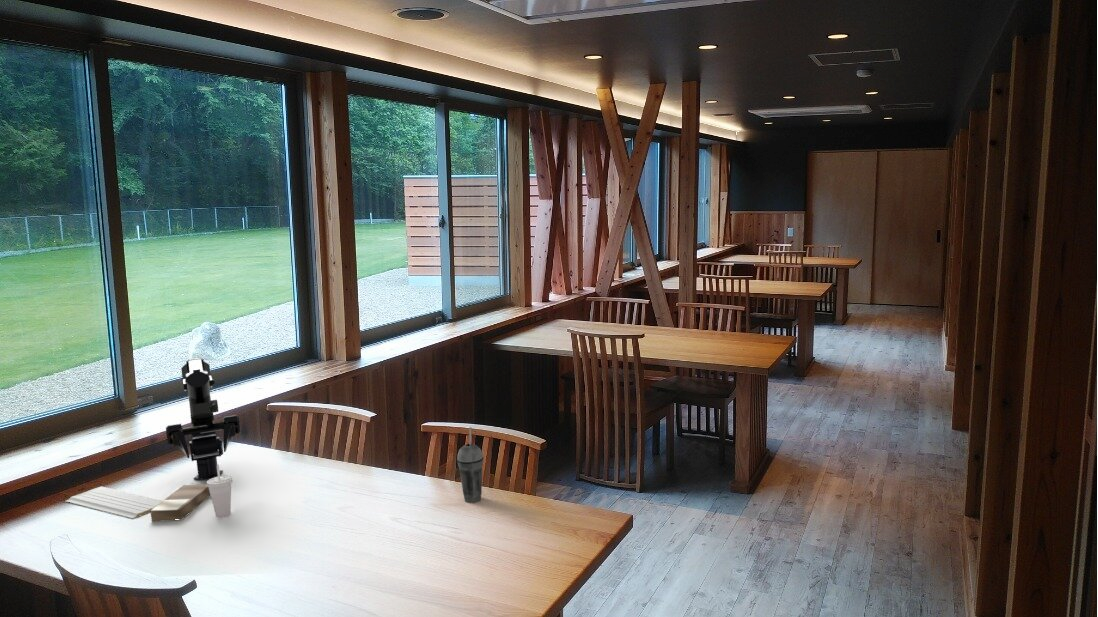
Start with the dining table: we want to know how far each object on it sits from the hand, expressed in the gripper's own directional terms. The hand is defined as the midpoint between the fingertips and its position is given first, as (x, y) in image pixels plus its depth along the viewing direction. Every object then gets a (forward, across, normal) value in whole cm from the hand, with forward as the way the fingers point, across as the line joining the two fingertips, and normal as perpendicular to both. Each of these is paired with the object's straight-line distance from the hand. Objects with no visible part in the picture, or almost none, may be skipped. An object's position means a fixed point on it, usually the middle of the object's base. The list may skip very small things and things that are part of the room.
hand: (206, 454), depth 213 cm
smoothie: (+16, +2, +6) cm, 17 cm away
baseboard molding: (-3, -25, +23) cm, 34 cm away
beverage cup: (+37, +64, -11) cm, 74 cm away
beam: (+7, -8, +14) cm, 17 cm away
